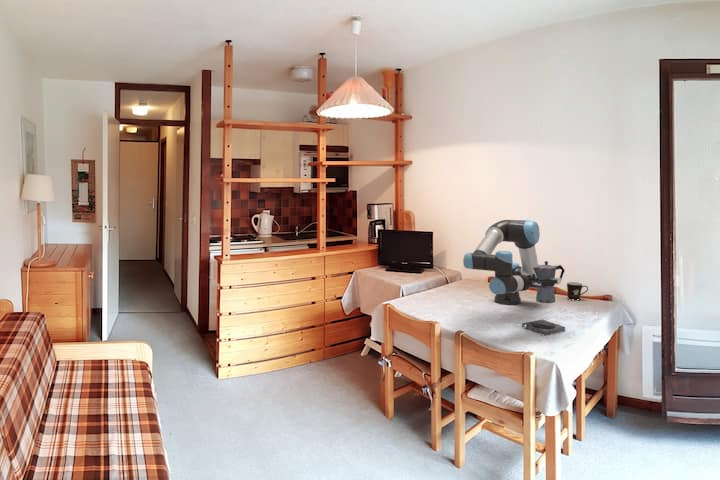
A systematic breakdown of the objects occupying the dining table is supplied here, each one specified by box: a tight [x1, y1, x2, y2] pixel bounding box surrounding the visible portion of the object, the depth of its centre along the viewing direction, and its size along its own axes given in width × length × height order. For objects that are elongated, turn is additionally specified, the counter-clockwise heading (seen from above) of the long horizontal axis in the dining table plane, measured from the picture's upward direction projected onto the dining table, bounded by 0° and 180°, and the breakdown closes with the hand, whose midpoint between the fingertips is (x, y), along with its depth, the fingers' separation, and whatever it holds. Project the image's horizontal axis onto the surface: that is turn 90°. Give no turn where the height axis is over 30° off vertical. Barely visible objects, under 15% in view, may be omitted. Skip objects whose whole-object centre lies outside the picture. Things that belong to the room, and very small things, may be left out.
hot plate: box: [521, 319, 566, 336], centre depth 228 cm, size 15×14×2 cm
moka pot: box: [533, 260, 566, 304], centre depth 226 cm, size 10×15×20 cm, turn 95°
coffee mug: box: [566, 281, 589, 300], centre depth 285 cm, size 12×9×10 cm
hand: (552, 278), depth 228 cm, fingers closed on moka pot, 8 cm apart
